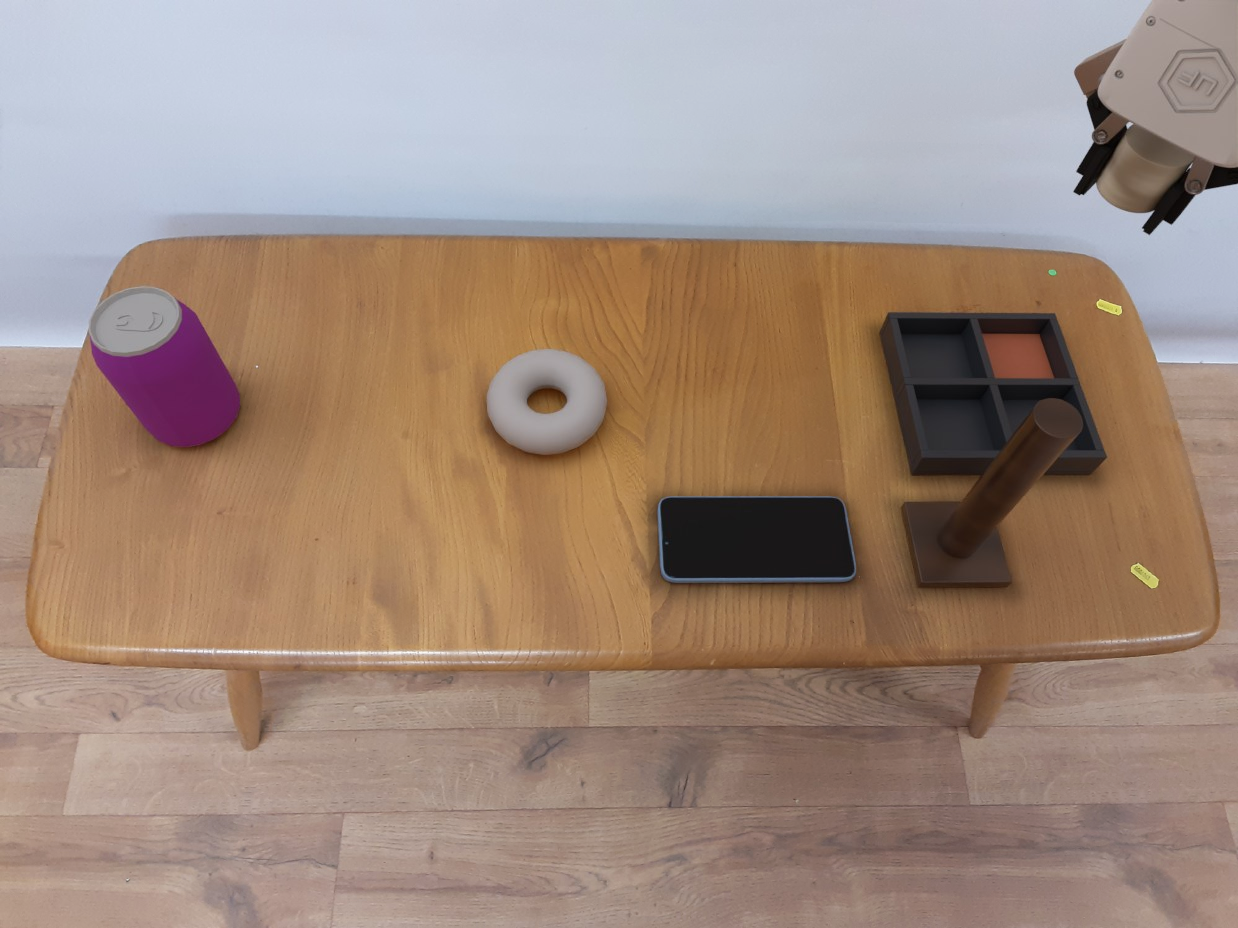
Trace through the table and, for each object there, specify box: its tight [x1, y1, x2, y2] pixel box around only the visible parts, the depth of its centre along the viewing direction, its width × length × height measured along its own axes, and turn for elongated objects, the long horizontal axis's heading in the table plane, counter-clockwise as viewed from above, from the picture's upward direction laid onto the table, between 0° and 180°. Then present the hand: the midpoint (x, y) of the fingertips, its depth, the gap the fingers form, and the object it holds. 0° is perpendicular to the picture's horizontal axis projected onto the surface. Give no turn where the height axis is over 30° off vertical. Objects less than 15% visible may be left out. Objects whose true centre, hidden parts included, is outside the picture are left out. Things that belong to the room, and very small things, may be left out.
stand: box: [900, 398, 1083, 589], centre depth 62 cm, size 7×7×18 cm
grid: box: [878, 311, 1108, 476], centre depth 76 cm, size 15×15×3 cm
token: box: [1095, 123, 1195, 214], centre depth 60 cm, size 5×5×4 cm
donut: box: [485, 348, 608, 456], centre depth 73 cm, size 10×4×10 cm
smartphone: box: [657, 495, 857, 584], centre depth 69 cm, size 7×1×15 cm
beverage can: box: [87, 285, 241, 448], centre depth 68 cm, size 8×8×12 cm
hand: (1121, 202), depth 63 cm, fingers closed on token, 4 cm apart
